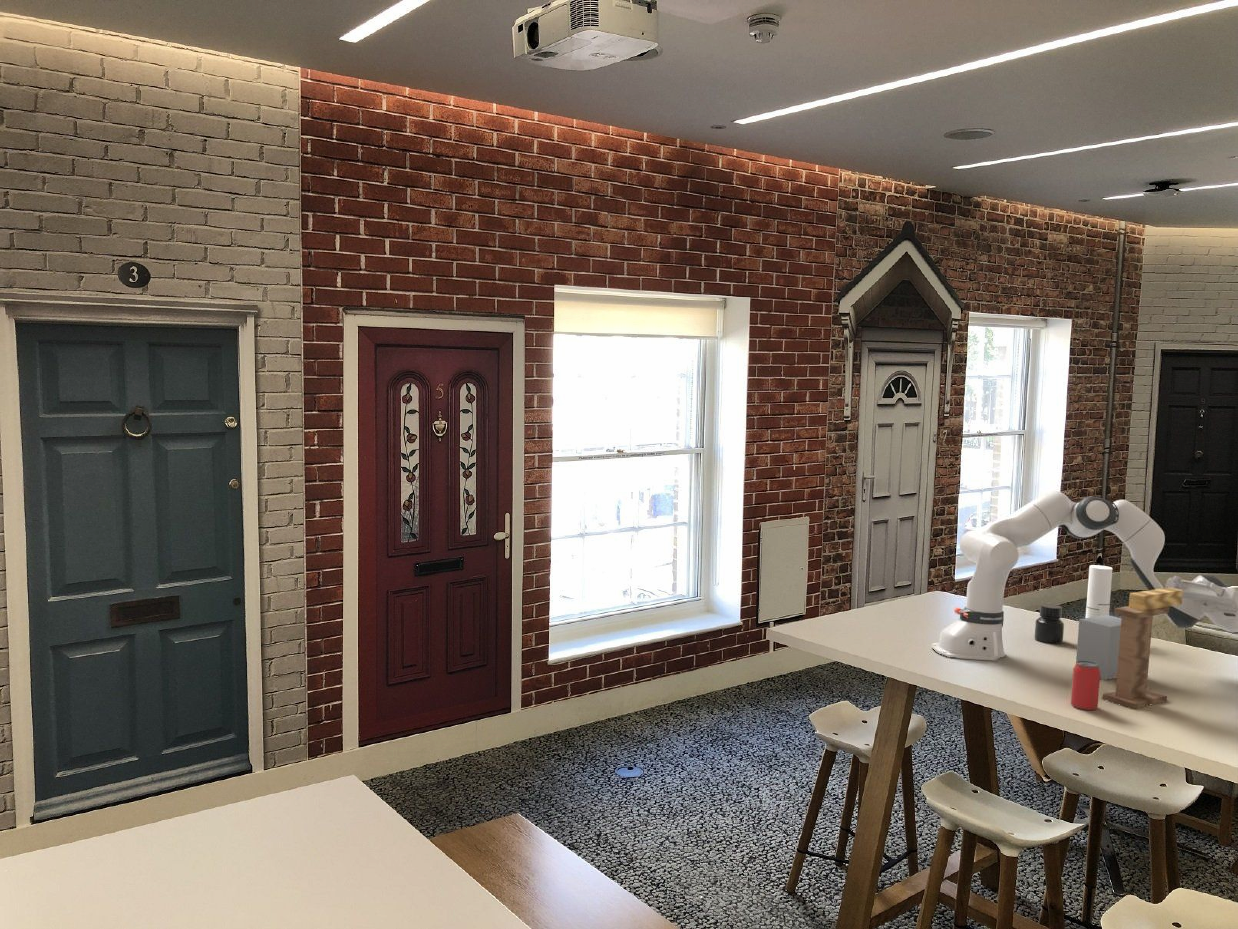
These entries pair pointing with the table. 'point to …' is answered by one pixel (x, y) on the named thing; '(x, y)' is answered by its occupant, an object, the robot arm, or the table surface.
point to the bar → (1155, 598)
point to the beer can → (1085, 685)
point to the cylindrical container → (1098, 591)
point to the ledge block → (1100, 643)
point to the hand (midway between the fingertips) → (1192, 581)
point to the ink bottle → (1049, 624)
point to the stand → (1134, 659)
